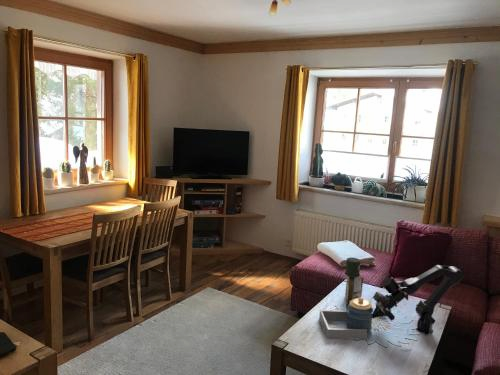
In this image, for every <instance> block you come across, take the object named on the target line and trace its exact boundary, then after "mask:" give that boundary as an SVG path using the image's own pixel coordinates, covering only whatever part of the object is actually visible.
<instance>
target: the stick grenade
mask: <svg viewBox="0 0 500 375" xmlns="http://www.w3.org/2000/svg"><path fill="white" fill-rule="evenodd" d="M345 263H346V265H345V271H344V274H345V276H346V277H347V276H349V289H348V299H347V298H346V303H345V307H346V309H348V305H349V304H350V301H351V300H352V296H353V286H354V280H355V277H359V276H361V274H360V270H361V269H360V268H361V260H360V259H359V258H356V257H347V258H346V262H345Z"/></svg>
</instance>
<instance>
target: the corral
mask: <svg viewBox="0 0 500 375" xmlns="http://www.w3.org/2000/svg"><path fill="white" fill-rule="evenodd" d="M347 311H348V310H331V309H330V310H327V309H323V310H322V309H320V310H319V318H318V319H319V321H320V324H321V326H322V329H323V332H324V334H325V336H326V339H332V340H333V339H335V340H336V339H337V340H343V339H344V340H367V336H368V334H367V329H347V328H335V327H333V328H330V327H329V324H328V321H327V320H329V321H331V320H332V321H334V320H333V319H338V320H337V321H347ZM342 319H343V320H342Z"/></svg>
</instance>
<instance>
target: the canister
mask: <svg viewBox="0 0 500 375" xmlns="http://www.w3.org/2000/svg"><path fill="white" fill-rule="evenodd" d="M371 303H372V302H371ZM371 303H370V301H369V300H367V299H364V297H362V296H361V297H360V298H356V299H353V300H351V301H350V304H349V305H348V308H347V309H348V310H346V311H347V320H346V329H347V328H348V329H367V335H368V334H370V333H371V331H372V326H373V325H372V323H373V318H372V317H373V316H372V313H373V311H374V308H373V306H372V305H373V304H372V305H371Z"/></svg>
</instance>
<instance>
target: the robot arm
mask: <svg viewBox="0 0 500 375" xmlns="http://www.w3.org/2000/svg"><path fill="white" fill-rule="evenodd" d="M440 276H443V278H442V281H441V282H440V283H439V284H438V285H437V287H436V288H435V289H434V290H433V292H432V293H431V294H430V295H429V297H428V298H427V299H426V300H419V302H418V303H417V304H416V305H415V306H416V307H415V313H416V314H417V316H418V317H419V318H418V320H417V323H416V324H417V325H416V329H415V330H416V331H419V332H421V333H423V334H425V335H429V334H431V333H432V332H434V330H433V325H434V324H435V322H436V319H435V318H434V317H433V314H434V311H435V307H436V305H437V304H438V303H439V302H440V301H441V300H442V298H444V296H445V294H446V293H447V292H448V291H449V290H450V288H451V287H452V286H455V285H457V284H459V283H460V282H461V281H462V280H463V279H464V272H463V271H462V270H460V269H459V268H458V267H456V266H452V265H451V266H448V265H440V264H436V265H435V266H433V267H432V268H430V269H428V270H426V271H425V272H423V273H421V274H420V275H418V276H416V277H410V278H407V279H405V280H402V281H396V280H395V279H394V278H393V277H392V276H391V277H389V278H385V279H384V280H383V281H382V282H381V286H382V287H383V289H385V291H387V293H388V294H382V293H380V292H379V291H376V292H375V293H374V295H373V297H372V299H373V300H374V301H375V308H374V309H373V312H372V316H373V317H372V319H376V318H381V317H387V318H388V320H390V321H391V322H393V321H394V320H395V319H396V318H395V317H396V316H395V315H394V314H393V313H392V309H393V308H394V307H396V308H398V305H397V304H399V303H400V302H401V301H403V300H404V299H405V300H406V301H409V296H410V295H414V294H415V293H416V292H418V290H420V288H421V287H422V286H423V285H425V284H427V283H429V282H430V281H432V280H435V279H436V278H438V277H440ZM376 301H377V302H378V303H376Z"/></svg>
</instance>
